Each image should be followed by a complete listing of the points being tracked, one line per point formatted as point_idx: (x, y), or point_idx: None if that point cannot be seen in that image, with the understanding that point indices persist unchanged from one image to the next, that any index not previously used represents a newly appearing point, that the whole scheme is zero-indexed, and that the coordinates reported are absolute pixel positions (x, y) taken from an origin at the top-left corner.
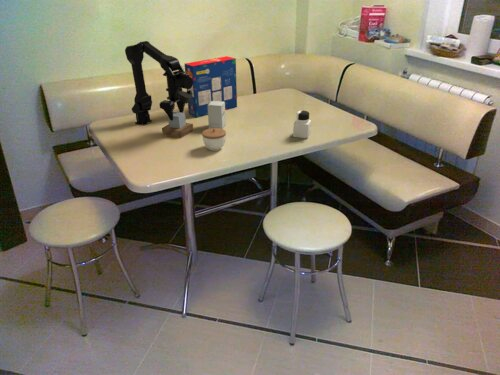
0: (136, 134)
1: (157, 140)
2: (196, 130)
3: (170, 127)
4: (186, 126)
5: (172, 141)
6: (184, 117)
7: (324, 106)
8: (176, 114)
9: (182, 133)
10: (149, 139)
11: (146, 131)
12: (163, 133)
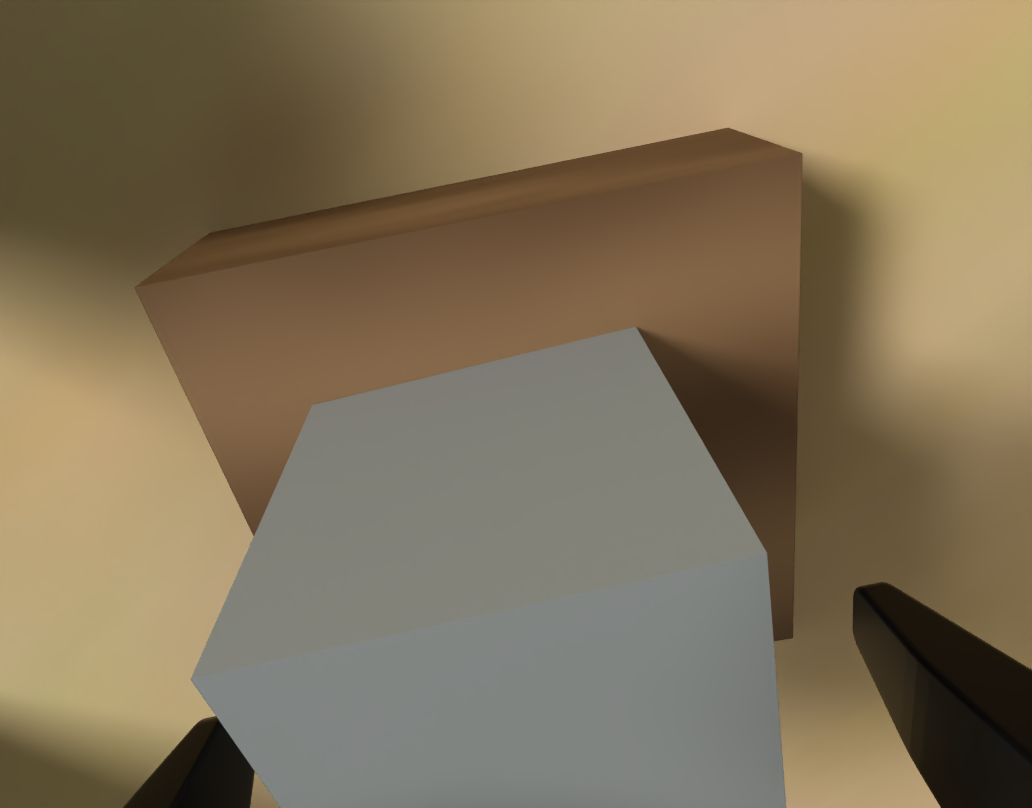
0: (879, 776)
1: (1010, 434)
2: (153, 164)
3: None
4: (413, 286)
5: (984, 156)
6: (304, 532)
7: None
8: (565, 771)
9: (698, 152)
10: (1001, 556)
11: None
12: None
